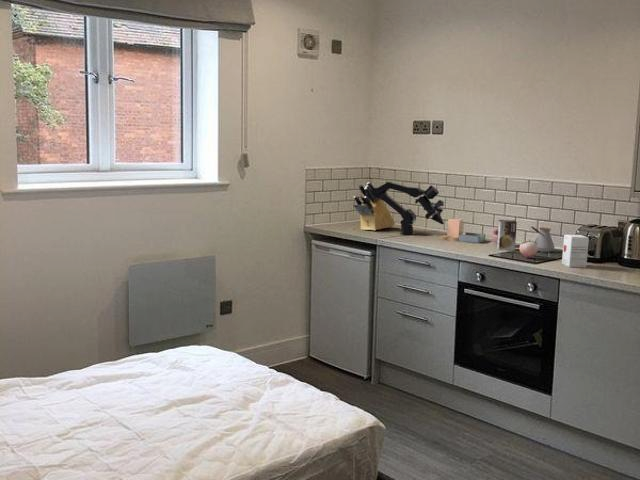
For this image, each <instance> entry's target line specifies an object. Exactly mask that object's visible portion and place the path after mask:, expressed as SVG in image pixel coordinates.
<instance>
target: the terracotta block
mask: <svg viewBox="0 0 640 480" xmlns="http://www.w3.org/2000/svg"><path fill="white" fill-rule="evenodd" d="M463 223H464V219H461V218H449V219H447V231H446V234H447V236H451V237H459V235H463V227H464V225H463Z"/></svg>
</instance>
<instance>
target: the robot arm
mask: <svg viewBox="0 0 640 480" xmlns="http://www.w3.org/2000/svg"><path fill="white" fill-rule="evenodd" d="M389 190H395V191H396V192H401V193H404V194H407V195H408V196H410V197H412V198H416V199H415V200H414V201H415V202H414V204H415V205H417V204H419V205H421V207H422V208H423V211H426V214H425V219H426V220H429V219H430V220H432V221H434V222H436V223H439V224H440V225H444V223H445V221H444V220H443V218H442V213H443V212H444V209H443V208H442V207H444V206H445V202H444V200H441V199H438V200H437V201H436V202H435V203H434V202H432V201H431V200H434V198H436V196H438V195H439V194H440V191H439V190H438V189H437V188H436V187H435V186H433V184H432V185H429V187H427V189H425V190H424V189H422V188H420V187H415V186H406V185H403V184H398V183H395V182H392V181H386V182H385V183H384V184H381V185H380V186H379V187H374V189H373V192H372V193H373V195H374V196H375V197H377V198H378V199H381V200H383V201H384V203H385V204H387V205H388V206H389V207H391V208H392V209H393V210H394V211H396V212H397V213H398V214H399V215H400V216H401V218H402V219H401V220H400V228H401V229H400V233H399V234H400V235H403V236H414V227H413V224H414V222H415V221H417V214H416V212H413V210H412V209H411V208H408V209H406V208H404V206H402V205H401V204H400V203H398V202H397V201H396V200H394V199H393V198H392V197H391V196H390V195H389V194H388V193H387V192H388V191H389Z"/></svg>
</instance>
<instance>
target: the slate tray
mask: <svg viewBox="0 0 640 480" xmlns="http://www.w3.org/2000/svg"><path fill="white" fill-rule="evenodd" d="M485 241H486V233H479V232H477V233H476V232H468V231H466V232H465V234H462V235H459V241H458V242H460V243H469V244H470V243H472V244H481V243H483V242H485Z"/></svg>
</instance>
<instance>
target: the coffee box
mask: <svg viewBox="0 0 640 480" xmlns="http://www.w3.org/2000/svg"><path fill="white" fill-rule="evenodd" d="M517 222H518V221H516V220H514V219H513V220H512V219H511V220H510V219H498V227H497V228H498V243H497V244H496V245H497V247H496V248H497V249H498V250H501V251H515V250H516V242H517V241H516V240H517V224H518V223H517Z"/></svg>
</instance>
